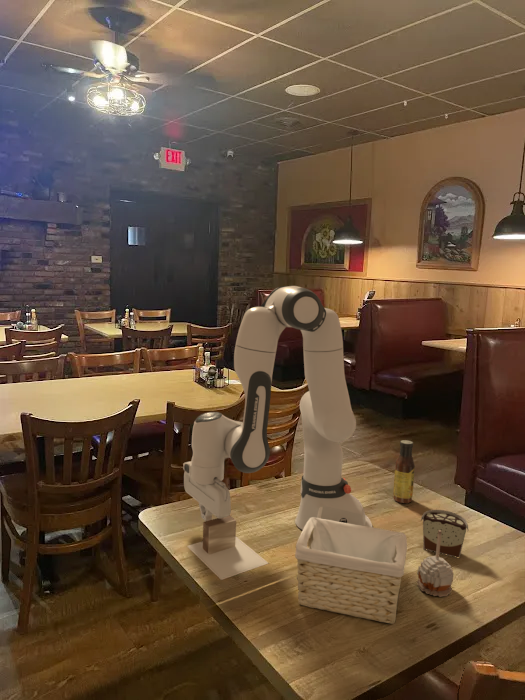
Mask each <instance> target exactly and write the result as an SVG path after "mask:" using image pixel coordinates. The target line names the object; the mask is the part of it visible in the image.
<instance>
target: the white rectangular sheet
mask: <svg viewBox="0 0 525 700" xmlns="http://www.w3.org/2000/svg"><path fill="white" fill-rule="evenodd" d="M186 548H188V549H189V550H190V551H191V552H192V553H194V555H195V556H196V557H197V558H198V559H199V560H200V561H201V563H203V564H204V565H205V566H207V568H208V569H209V570H210V571H212V573H213V574H215V575H216V577H218V579H220V581H222V580H225V579H228V578H230V577H234V576H236V575H240V574H242V573H245V572H248V571H251V570H254V569H257V568H260V567H263V566H265V565H268V564H269V562H268V561H267V560H266V559H264V558H263V557H262V556H261V555H260V554H259V553H257V552H256V551H255V550H254V549H252V548H251V547H250V546H249V545H247V544H246V543H245V542H243V541H242V540H241V539H240V538H239V537H237V536H236V541H235V547H232V548H229V549H225V550H222V551H219V552H216V553H213V554H210V555H209V554H208V553H207V552H206V551H205V550H204V549H203V540H202V541H199V542H196V543H192V544H189V545H186Z"/></svg>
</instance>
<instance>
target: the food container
mask: <svg viewBox="0 0 525 700" xmlns="http://www.w3.org/2000/svg"><path fill="white" fill-rule="evenodd" d="M420 522H422V535H423V537H422V538H423V540H422V541H423V543H422V544H423V546H422V547H423V550H424V549H427V550H426V551H428V550H430V551H429V552H432V551H434V552H433V553H436V547H437V537H438V530H441V531H442V533H441V542H440V552H439V554H440V553H443V554H442V555H444V554H447V555H446V556H448V555H450V556H449V557H452V556H456V557H460V558H461V553H462V549H463V545H464V541H465V536H466V532H467V530H469V525H468V522H467V520H466V518H464V517H463V516H461V515H460V514H457V513H456V512H453V511H449V510H443V509H430V510H426V511H425V512H423V514H422V516H421V518H420ZM456 557H455V558H456Z"/></svg>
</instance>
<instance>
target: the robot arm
mask: <svg viewBox="0 0 525 700" xmlns="http://www.w3.org/2000/svg"><path fill="white" fill-rule="evenodd" d="M286 328H293V329H296V330H300V332H301V334H302V347H303V348H302V349H303V364H304V365H303V368H304V378H305V381H306V384H307V387H308V391H306V392H305V393H304V394H303V395H302V396H301V399H300V400H299V410H300V413H301V414H300V415H301V427H302V428H301V429H302V439H303V448H304V452H303V453H304V454H303V456H304V459H303V472H302V473H303V475H302V476H301V480H300V496H301V498H300V504H299V507H298V511H297V514H296V517H295V520H294V522H295V526H297V527H298V528H299V529H300V530H302V531H303V529H304V527H305V525H306V523H307V521H308V520H309V519H310V518H312V517H315V518H320V519H326V520H332V521H337V522H343V523H349V524H354V525H361V526H367V527H373V523H372V520H371V519H370V518H369V517H368V515H366V512H365V509H364V506H363V503H362V502H361V501H360V499H358V498H357V497H356V496H354V495H353V494H352V493H351V492H352V488H351V485H349V483H348V481H347V480H346V478H345V477H342V474H343V473H342V472H343V460H344V459H343V458H344V453H343V449H342V446H341V443H342V442H346V441H347V440H349V439H350V438H351V437H352V436H353V435H354V433H355V431H356V428H357V420H356V417H355V414H354V412H353V409H352V405H351V399H350V395H349V390H348V386H347V381H346V374H345V361H344V341H343V340H344V339H343V332H342V331H343V330H342V326H341V321H340V318H339V315H338V314H337V312H336V311H335V310H333V309H331V308H328V307H327V308H326V307H324V305H323V304H322V301H321V299H320V298H319V296H318V295H317V294H316V293H315V292H313V291H312V290H310V289H309V288H305V287H303V286H302V287H301V286H297V285H289V286H288V285H282V286H278V287H276V288H274V289H273V290H272V291H271V292H270V293H269V294H268V296H267V298H265V299H264V302H262V304H261V305H260V306H254V307H251V308H249V309H247V310H246V311H245V312H244V315H243V316H242V319H241V323H240V326H239V327H238V331H237V332H238V333H237V335H236V336H237V337H236V341H235V345H234V346H235V347H234V351H233V352H234V353H233V369H234V372H235V374H236V375H237V378H238V380H239V382H240V384H241V386H242V389H243V392H244V393H243V394H244V400H245V401H244V411H243V421H238V420H233V419H231V418H229V417H227V416H225V415H224V414H222V413H221V412H218V411H209V412H204V413H201V414H200V415H198V416H197V417H196V418H195V420H194V422H193V426H192V433H191V434H192V435H191V449H192V457H191V459H190V460H191V461H186V462H184V463H182V465H183V467H182V469H183V471H184V473H183V486H184V490H185V493H187V494H188V495H189V496H190V497H192V498H193V499H194V500H195V501H196V502H197V503H198V507H199V511H200V518H201V519H203V520H204V522H205V521H209V520H213V517H212V516H215V518H219V519H220V518H224V517H228V516H229V515H230V516H231V513H232V503H231V502H232V500H231V492H230V489H229V488H228V487H227V485H226V483H225V482H223V480H224V476H225V475H224V474H225V460H226V459H229V458H230V460H231V462H232V464H233V466H234V468H235V469H236V470H237V471H239V472H241V473H244V474H251V473H256V472H258V471H260V470H261V469H263V468H264V467H265V465H266V464H267V462H268V461H269V460H270V459H269V458H270V453H271V450H270V444H269V441H268V424H269V415H270V405H271V398H272V397H271V394H272V383H273V382H272V381H273V372H274V367H275V362H276V361H275V359H276V354H277V350H278V349H277V348H278V342H279V339H280V336H281V335H282V333H283V331H284V330H285V329H286Z"/></svg>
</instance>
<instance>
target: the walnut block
mask: <svg viewBox="0 0 525 700" xmlns="http://www.w3.org/2000/svg"><path fill="white" fill-rule="evenodd" d="M236 537H237V520H236V519H235V518H234V517H233V516H232V515H231V514H230V515H229V516H228V517H224V518H220V519H219V518H217V517H215V518H212V520H209V521H205V520H204V521H203V522H202V541H203V549H204V550H205V551H206V552H207V553H208V554H209V555H210V554H213V553H216V552H219V551H222V550H225V549H229V548H232V547H235V541H236Z"/></svg>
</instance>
